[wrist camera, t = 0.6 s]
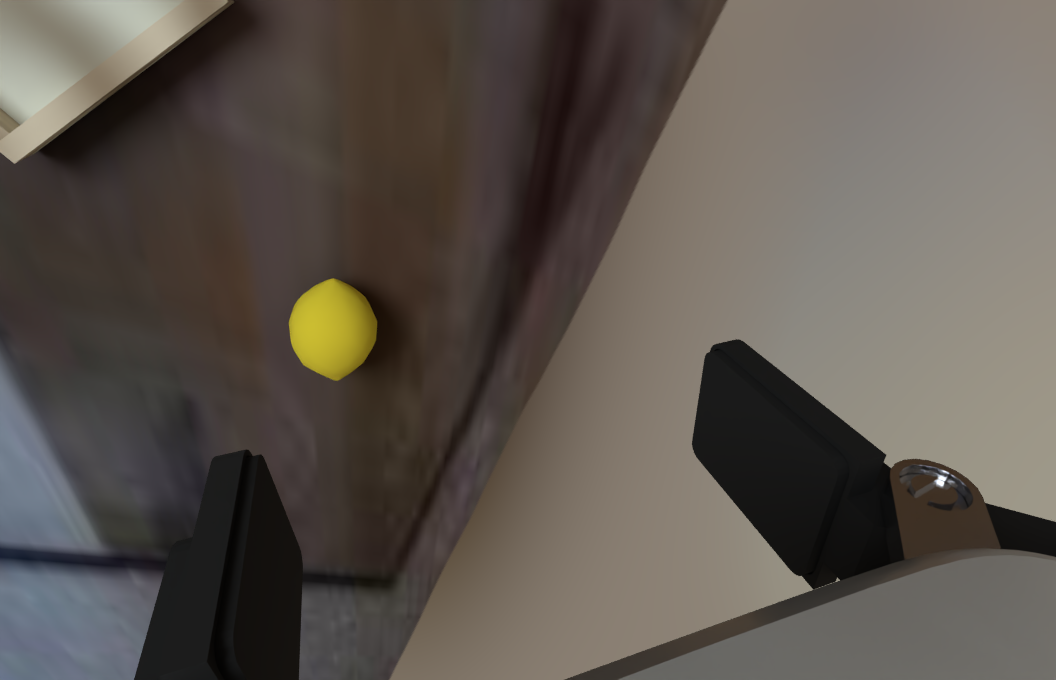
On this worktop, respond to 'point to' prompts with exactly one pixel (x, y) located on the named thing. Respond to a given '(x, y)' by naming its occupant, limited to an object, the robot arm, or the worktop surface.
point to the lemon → (332, 329)
